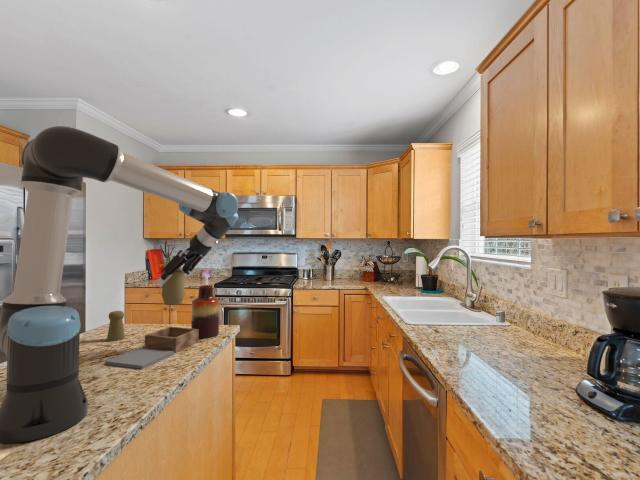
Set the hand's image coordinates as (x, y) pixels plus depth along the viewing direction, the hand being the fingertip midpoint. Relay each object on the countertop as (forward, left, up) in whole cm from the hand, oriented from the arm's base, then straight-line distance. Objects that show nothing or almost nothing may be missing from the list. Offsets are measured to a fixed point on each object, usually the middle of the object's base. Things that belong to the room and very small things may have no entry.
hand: (165, 283), depth 123 cm
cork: (+1, +23, -23) cm, 33 cm away
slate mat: (-15, -4, -23) cm, 27 cm away
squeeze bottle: (0, -4, -8) cm, 8 cm away
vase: (+16, -7, -23) cm, 29 cm away
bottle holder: (0, -4, -23) cm, 23 cm away
